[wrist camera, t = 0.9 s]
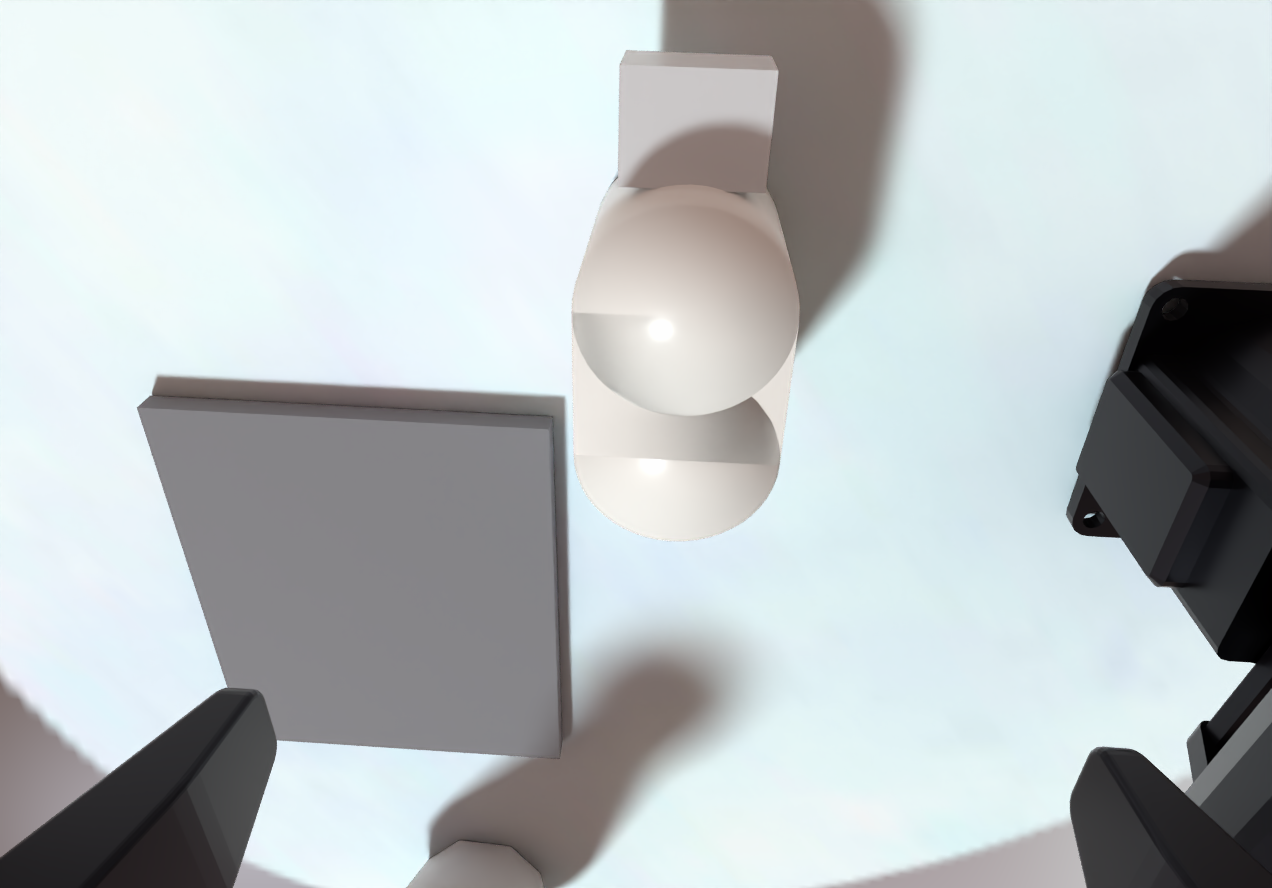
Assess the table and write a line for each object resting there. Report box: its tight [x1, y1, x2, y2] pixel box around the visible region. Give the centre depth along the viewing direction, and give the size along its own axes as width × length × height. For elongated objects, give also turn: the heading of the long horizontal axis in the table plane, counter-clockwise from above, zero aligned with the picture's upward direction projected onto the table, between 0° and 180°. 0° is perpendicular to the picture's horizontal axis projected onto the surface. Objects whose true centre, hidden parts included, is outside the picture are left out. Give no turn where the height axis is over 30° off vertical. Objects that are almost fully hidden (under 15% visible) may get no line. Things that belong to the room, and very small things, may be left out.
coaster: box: [137, 396, 562, 759], centre depth 24 cm, size 10×12×1 cm
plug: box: [572, 50, 800, 541], centre depth 17 cm, size 9×4×4 cm, turn 178°
